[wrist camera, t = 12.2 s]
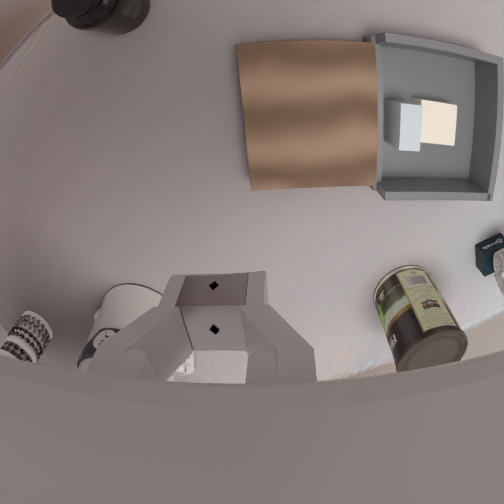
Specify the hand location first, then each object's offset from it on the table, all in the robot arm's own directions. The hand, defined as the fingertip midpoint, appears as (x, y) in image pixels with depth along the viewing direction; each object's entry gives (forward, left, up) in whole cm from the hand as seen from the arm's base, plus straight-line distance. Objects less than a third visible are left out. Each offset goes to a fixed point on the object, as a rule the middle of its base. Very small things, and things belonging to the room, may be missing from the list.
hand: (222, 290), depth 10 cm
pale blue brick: (+1, -15, -26) cm, 30 cm away
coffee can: (-25, -21, -29) cm, 44 cm away
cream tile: (+2, -21, -26) cm, 33 cm away
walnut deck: (+2, -6, -29) cm, 30 cm away
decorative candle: (-32, +50, -29) cm, 66 cm away
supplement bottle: (+18, +14, -29) cm, 37 cm away
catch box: (+2, -21, -29) cm, 36 cm away
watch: (-18, -36, -29) cm, 50 cm away
